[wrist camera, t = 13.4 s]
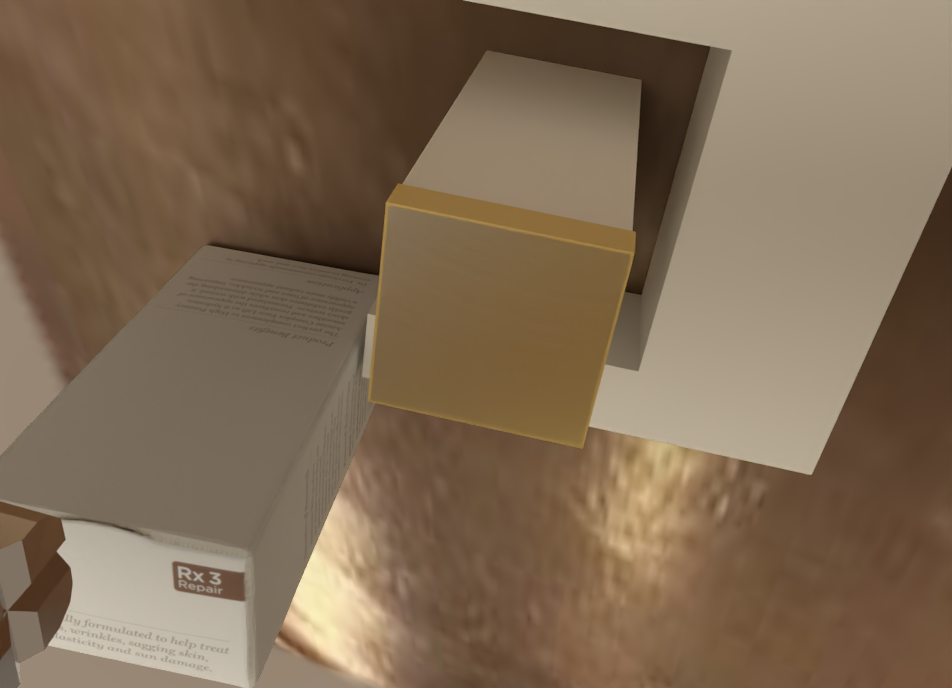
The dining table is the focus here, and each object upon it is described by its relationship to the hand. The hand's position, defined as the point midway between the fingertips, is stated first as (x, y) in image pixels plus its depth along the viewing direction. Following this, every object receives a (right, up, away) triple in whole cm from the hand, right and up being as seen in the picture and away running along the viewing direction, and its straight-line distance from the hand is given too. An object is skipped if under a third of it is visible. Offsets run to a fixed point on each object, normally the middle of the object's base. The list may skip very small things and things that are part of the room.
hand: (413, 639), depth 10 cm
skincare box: (-5, +4, +19) cm, 20 cm away
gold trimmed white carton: (+3, +9, +14) cm, 17 cm away
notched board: (+5, +9, +14) cm, 17 cm away
